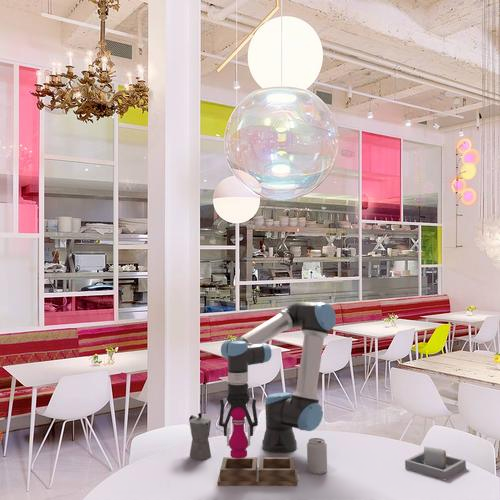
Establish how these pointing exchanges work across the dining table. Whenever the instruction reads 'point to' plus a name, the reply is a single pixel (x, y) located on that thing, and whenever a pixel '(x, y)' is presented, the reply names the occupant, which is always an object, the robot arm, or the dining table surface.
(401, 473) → the dining table surface
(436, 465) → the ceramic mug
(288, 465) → the wooden divided tray
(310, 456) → the can
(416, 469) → the frame
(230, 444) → the pepper mill
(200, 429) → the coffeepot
